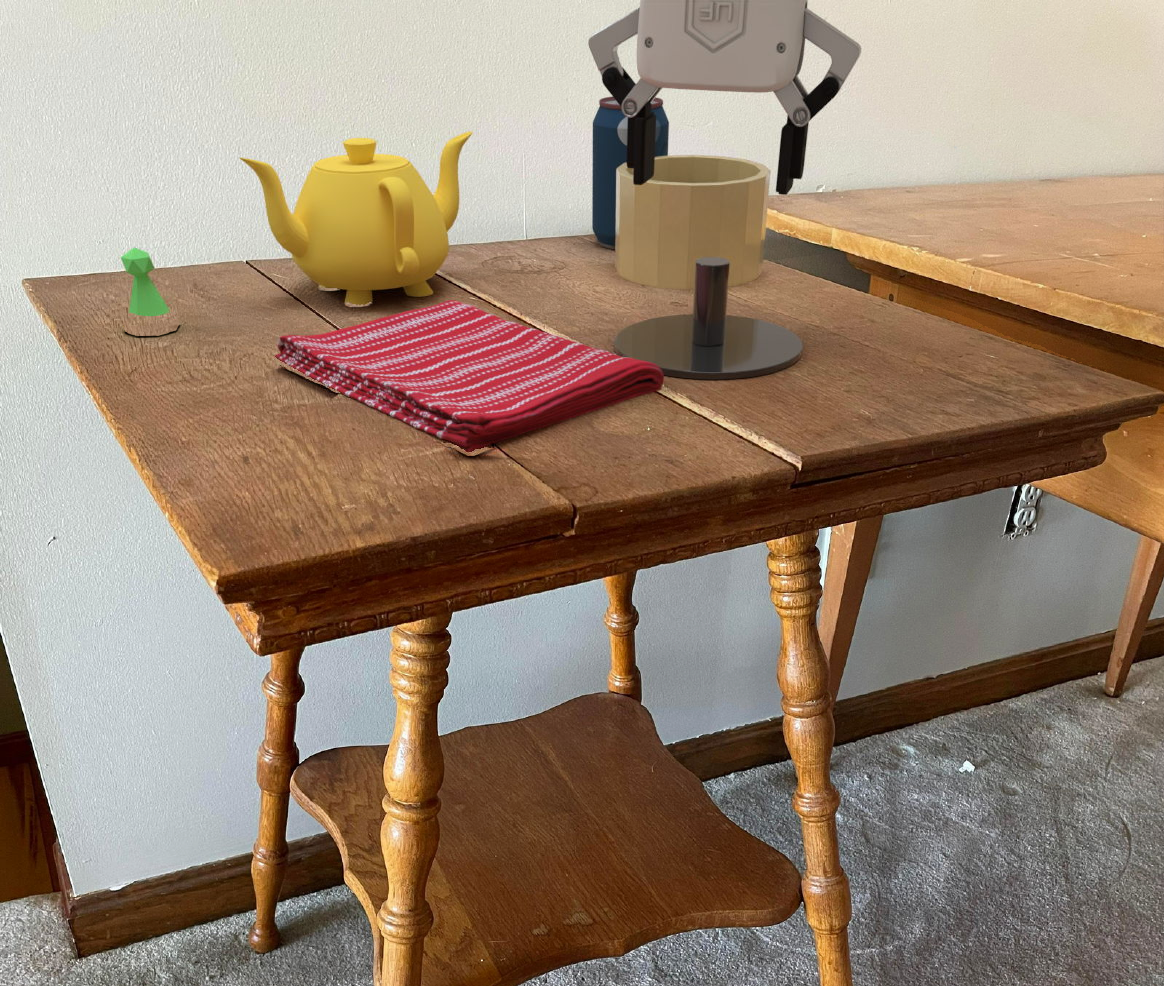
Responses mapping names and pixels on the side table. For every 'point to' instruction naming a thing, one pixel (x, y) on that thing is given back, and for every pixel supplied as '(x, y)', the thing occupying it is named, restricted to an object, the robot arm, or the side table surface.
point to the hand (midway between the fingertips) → (713, 185)
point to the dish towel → (467, 372)
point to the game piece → (143, 285)
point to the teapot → (366, 219)
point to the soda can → (615, 161)
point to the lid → (710, 336)
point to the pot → (691, 219)
